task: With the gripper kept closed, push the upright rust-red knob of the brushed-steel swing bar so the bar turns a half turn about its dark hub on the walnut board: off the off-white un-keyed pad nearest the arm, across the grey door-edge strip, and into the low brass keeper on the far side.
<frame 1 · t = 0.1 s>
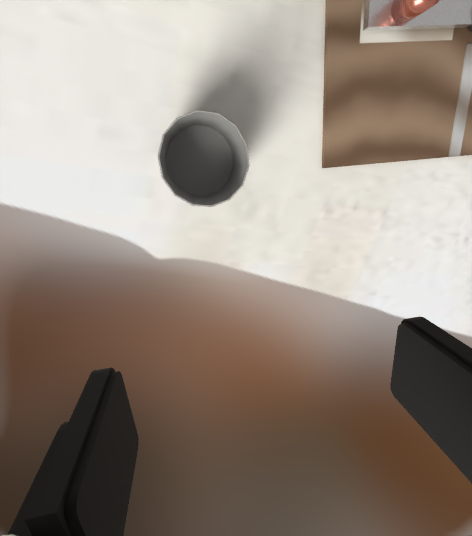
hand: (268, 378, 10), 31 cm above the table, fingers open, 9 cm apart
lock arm: (449, 2, 32), point 4 cm above the table, hinge at 0.0°
cup: (199, 161, 37), on the table
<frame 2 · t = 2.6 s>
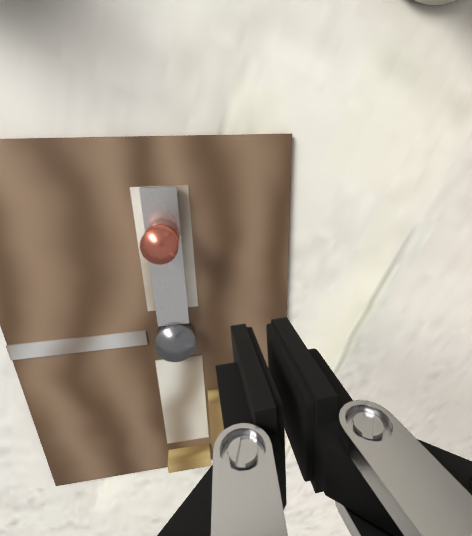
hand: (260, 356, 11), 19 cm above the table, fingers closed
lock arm: (167, 288, 26), point 4 cm above the table, hinge at 0.0°
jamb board: (176, 330, 31), on the table
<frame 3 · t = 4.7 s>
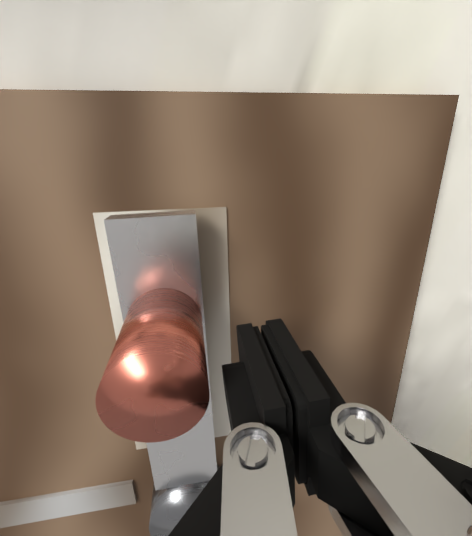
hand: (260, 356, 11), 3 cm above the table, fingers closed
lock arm: (176, 440, 11), point 4 cm above the table, hinge at 1.0°, touching gripper
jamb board: (190, 469, 17), on the table
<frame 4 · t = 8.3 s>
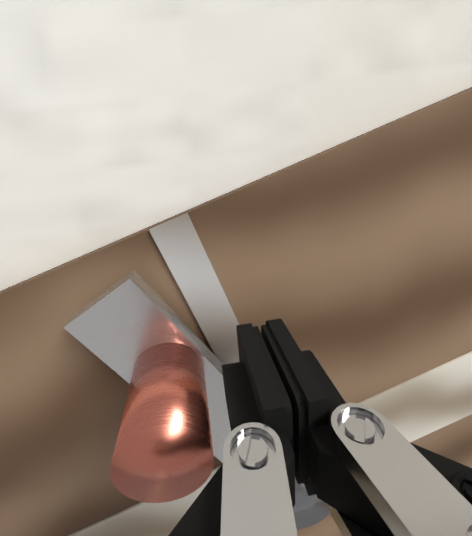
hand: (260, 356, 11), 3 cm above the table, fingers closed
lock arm: (237, 458, 12), point 4 cm above the table, hinge at 103.1°, touching gripper
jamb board: (286, 457, 18), on the table
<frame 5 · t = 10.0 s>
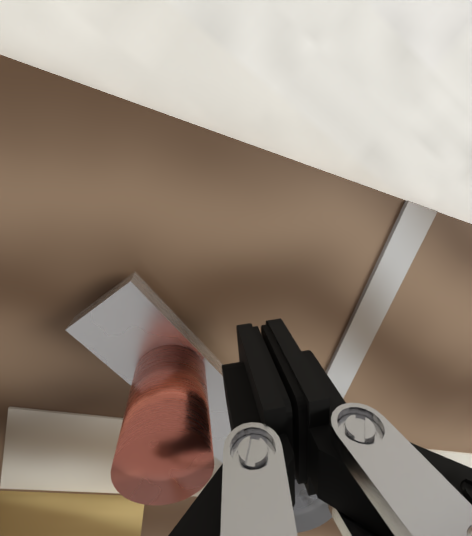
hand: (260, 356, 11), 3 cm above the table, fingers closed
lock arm: (239, 461, 12), point 4 cm above the table, hinge at 142.7°, touching gripper
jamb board: (289, 459, 18), on the table
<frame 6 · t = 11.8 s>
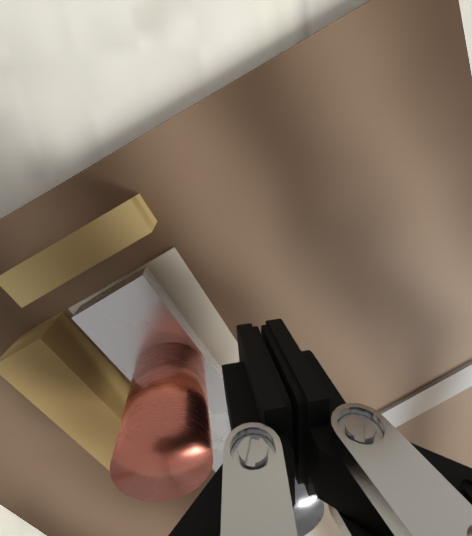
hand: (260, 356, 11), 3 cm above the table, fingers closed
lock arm: (229, 465, 12), point 4 cm above the table, hinge at 180.9°, touching gripper
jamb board: (274, 468, 18), on the table
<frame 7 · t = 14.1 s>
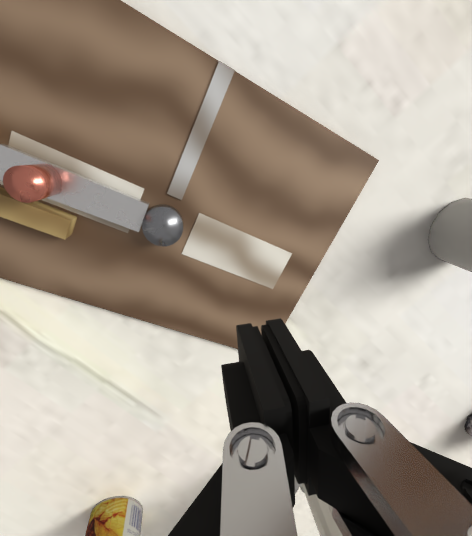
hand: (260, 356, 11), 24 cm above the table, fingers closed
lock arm: (92, 202, 27), point 4 cm above the table, hinge at 180.9°
cup: (455, 229, 39), on the table
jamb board: (164, 221, 32), on the table
canned food: (117, 511, 47), on the table
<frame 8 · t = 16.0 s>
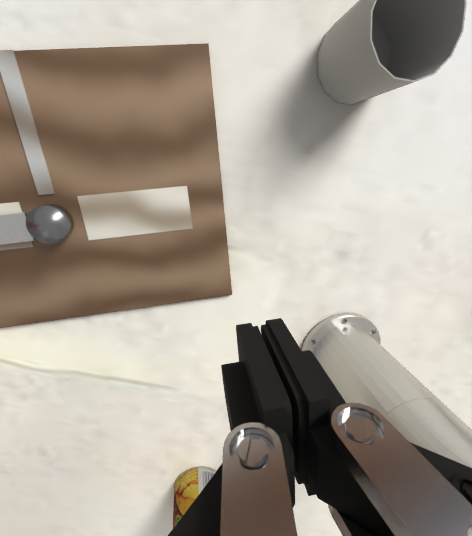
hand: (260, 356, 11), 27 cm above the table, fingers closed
cup: (351, 62, 33), on the table
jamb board: (57, 220, 33), on the table
canned food: (197, 481, 51), on the table
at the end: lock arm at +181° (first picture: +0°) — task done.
